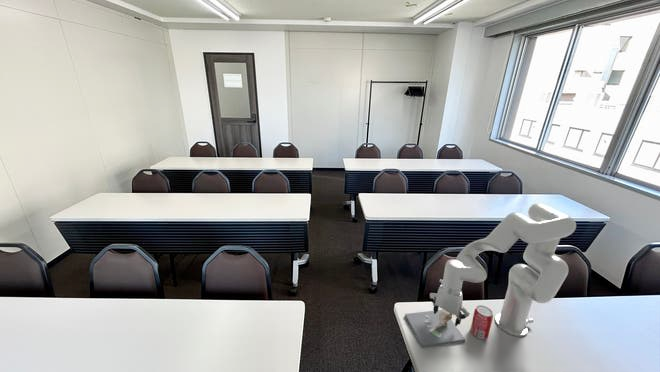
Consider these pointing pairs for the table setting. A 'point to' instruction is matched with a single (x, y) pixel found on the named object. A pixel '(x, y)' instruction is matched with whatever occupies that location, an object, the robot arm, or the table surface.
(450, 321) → the grey flat slab
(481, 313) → the soda can
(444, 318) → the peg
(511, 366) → the table surface
